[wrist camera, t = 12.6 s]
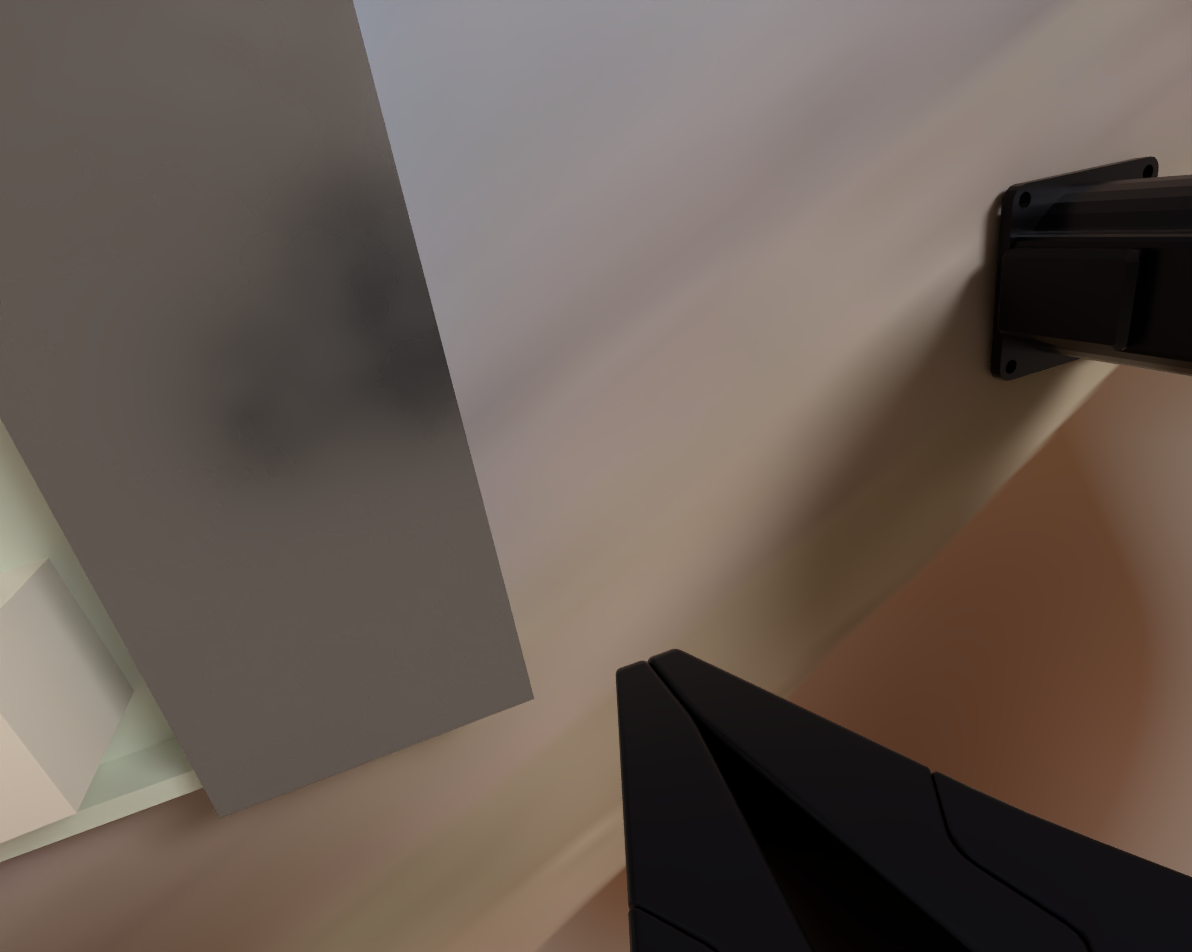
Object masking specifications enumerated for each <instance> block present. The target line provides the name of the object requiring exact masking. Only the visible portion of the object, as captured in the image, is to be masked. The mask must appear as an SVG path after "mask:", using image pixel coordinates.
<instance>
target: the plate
mask: <svg viewBox="0 0 1192 952" xmlns="http://www.w3.org/2000/svg"><path fill="white" fill-rule="evenodd" d="M0 419H1V420H2V422H3V424H4V426H5V428H6V430H7V431H8V433H9V435H10V437H11V439H12V440H13V442H14V444H15V446H16V448H17V450H18V451H19V453H20V455H21V457H22V459H23V460H24V462H25V464H26V466H27V468H28V470H29V471H30V473H31V475H32V477H33V479H34V480H35V482H36V484H37V486H38V488H39V490H40V491H41V493H42V495H43V497H44V499H45V501H46V502H47V504H48V506H49V508H50V510H51V511H52V513H53V515H54V517H55V519H56V521H57V522H58V524H59V526H60V528H61V530H62V531H63V533H64V535H65V537H66V539H67V541H68V542H69V544H70V546H71V548H72V550H73V551H74V553H75V555H76V557H77V559H78V561H79V562H80V564H81V566H82V568H83V570H84V572H85V573H86V575H87V577H88V579H89V581H90V582H91V584H92V586H93V588H94V590H95V592H96V593H97V595H98V597H99V599H100V601H101V602H102V604H103V606H104V608H105V610H106V612H107V613H108V615H109V617H110V619H111V621H112V622H113V624H114V626H115V628H116V630H117V632H118V633H119V635H120V637H121V639H122V641H123V643H124V644H125V646H126V648H127V650H128V652H129V653H130V655H131V657H132V659H133V661H134V663H135V664H136V666H137V668H138V670H139V672H140V673H141V675H142V677H143V679H144V681H145V683H146V684H147V686H148V688H149V690H150V692H151V693H152V695H153V697H154V699H155V701H156V703H157V704H158V706H159V708H160V710H161V712H162V714H163V715H164V717H165V719H166V721H167V723H168V724H169V726H170V728H171V730H172V732H173V734H174V735H175V737H176V739H177V741H178V743H179V744H180V746H181V748H182V750H183V752H184V754H185V755H186V757H187V759H188V761H189V763H190V764H191V766H192V768H193V770H194V772H195V774H196V775H197V777H198V779H199V781H200V783H201V785H202V786H203V788H204V790H205V792H206V794H207V795H208V797H209V799H210V801H211V803H212V805H213V806H214V808H215V810H216V812H217V814H218V815H219V817H220V818H221V817H224V816H227V815H229V814H232V813H234V812H237V811H240V810H242V809H245V808H248V807H250V806H253V805H256V804H258V803H261V802H263V801H266V800H269V799H271V798H274V797H277V796H279V795H282V794H285V793H287V792H290V791H292V790H295V789H298V788H300V787H303V786H306V785H308V784H311V783H313V782H316V781H319V780H321V779H324V778H327V777H329V776H332V775H335V774H337V773H340V772H342V771H345V770H348V769H350V768H353V767H356V766H358V765H361V764H364V763H366V762H369V761H371V760H374V759H377V758H379V757H382V756H385V755H387V754H390V753H393V752H395V751H398V750H400V749H403V748H406V747H408V746H411V745H414V744H416V743H419V742H421V741H424V740H427V739H429V738H432V737H435V736H437V735H440V734H443V733H445V732H448V731H450V730H453V729H456V728H458V727H461V726H464V725H466V724H469V723H472V722H474V721H477V720H479V719H482V718H485V717H487V716H490V715H493V714H495V713H498V712H500V711H503V710H506V709H508V708H511V707H514V706H516V705H519V704H522V703H524V702H527V701H529V700H532V699H534V696H533V692H532V689H531V685H530V681H529V677H528V673H527V669H526V666H525V662H524V658H523V654H522V650H521V646H520V642H519V639H518V635H517V631H516V627H515V623H514V619H513V616H512V612H511V608H510V604H509V600H508V596H507V592H506V589H505V585H504V581H503V577H502V573H501V569H500V566H499V562H498V558H497V554H496V550H495V546H494V542H493V539H492V535H491V531H490V527H489V523H488V519H487V516H486V512H485V508H484V504H483V500H482V496H481V492H480V489H479V485H478V481H477V477H476V473H475V469H474V465H473V462H472V458H471V454H470V450H469V446H468V442H467V439H466V435H465V431H464V427H463V423H462V419H461V415H460V412H459V408H458V404H457V400H456V396H455V392H454V389H453V385H452V381H451V377H450V373H449V369H448V365H447V362H446V358H445V354H444V350H443V346H442V342H441V339H440V335H439V331H438V327H437V323H436V319H435V315H434V312H433V308H432V304H431V300H430V296H429V292H428V289H427V285H426V281H425V277H424V273H423V269H422V265H421V262H420V258H419V254H418V250H417V246H416V242H415V239H414V235H413V231H412V227H411V223H410V219H409V215H408V212H407V208H406V204H405V200H404V196H403V192H402V189H401V185H400V181H399V177H398V173H397V169H396V165H395V162H394V158H393V154H392V150H391V146H390V142H389V138H388V135H387V131H386V127H385V123H384V119H383V115H382V112H381V108H380V104H379V100H378V96H377V92H376V88H375V85H374V81H373V77H372V73H371V69H370V65H369V62H368V58H367V54H366V50H365V46H364V42H363V38H362V35H361V31H360V27H359V23H358V19H357V15H356V12H355V8H354V4H353V0H0Z"/></svg>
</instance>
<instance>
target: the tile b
mask: <svg viewBox="0 0 1192 952" xmlns="http://www.w3.org/2000/svg"><path fill="white" fill-rule="evenodd" d="M133 692H134V690H133V688H132V687H131V685H130V684H129V682H128V680H127V679H126V677H125V676H124V674H123V673H122V671H121V670H120V668H119V666H118V665H117V663H116V662H115V660H114V659H113V657H112V656H111V654H110V652H109V651H108V649H107V648H106V646H105V645H104V643H103V642H102V640H101V638H100V637H99V635H98V634H97V632H96V631H95V629H94V628H93V626H92V624H91V623H90V621H89V620H88V618H87V617H86V615H85V614H84V612H83V610H82V609H81V607H80V606H79V604H78V603H77V601H76V600H75V598H74V596H73V595H72V593H71V592H70V590H69V589H68V587H67V586H66V584H65V582H64V581H63V579H62V578H61V576H60V575H59V573H58V572H57V570H56V569H55V567H54V565H53V564H52V562H51V561H50V559H49V558H46V559H43V560H39V561H36V562H33V563H30V564H27V565H23V566H20V567H17V568H14V569H11V570H7V571H4V572H1V573H0V843H3V842H5V841H8V840H10V839H13V838H15V837H18V836H20V835H23V834H25V833H28V832H30V831H33V830H35V829H38V828H40V827H43V826H45V825H48V824H50V823H53V822H55V821H58V820H60V819H63V818H65V817H68V816H71V815H73V814H76V813H77V811H78V809H79V807H80V805H81V803H82V800H83V798H84V796H85V794H86V792H87V790H88V788H89V786H90V783H91V781H92V779H93V777H94V775H95V773H96V771H97V769H98V767H99V764H100V762H101V760H102V758H103V756H104V754H105V752H106V750H107V747H108V745H109V743H110V741H111V739H112V737H113V735H114V733H115V730H116V728H117V726H118V724H119V722H120V720H121V718H122V716H123V714H124V711H125V709H126V707H127V705H128V703H129V701H130V699H131V697H132V694H133Z"/></svg>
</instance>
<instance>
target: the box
mask: <svg viewBox="0 0 1192 952" xmlns="http://www.w3.org/2000/svg"><path fill="white" fill-rule="evenodd" d="M46 558H49V559H50V561H51V562H52V564H53V565H54V567H55V569H56V570H57V572H58V573H59V575H60V576H61V578H62V579H63V581H64V582H65V584H66V586H67V587H68V589H69V590H70V592H71V593H72V595H73V596H74V598H75V600H76V601H77V603H78V604H79V606H80V607H81V609H82V610H83V612H84V614H85V615H86V617H87V618H88V620H89V621H90V623H91V624H92V626H93V628H94V629H95V631H96V632H97V634H98V635H99V637H100V638H101V640H102V642H103V643H104V645H105V646H106V648H107V649H108V651H109V652H110V654H111V656H112V657H113V659H114V660H115V662H116V663H117V665H118V666H119V668H120V670H121V671H122V673H123V674H124V676H125V677H126V679H127V680H128V682H129V684H130V685H131V687H132V688H133V690H134V692H133V694H132V697H131V699H130V701H129V703H128V705H127V707H126V709H125V711H124V714H123V716H122V718H121V720H120V722H119V724H118V726H117V728H116V730H115V733H114V735H113V737H112V739H111V741H110V743H109V745H108V747H107V750H106V752H105V754H104V756H103V758H102V760H101V762H100V764H99V767H98V769H97V771H96V773H95V775H94V777H93V779H92V781H91V783H90V786H89V788H88V790H87V792H86V794H85V796H84V798H83V800H82V803H81V805H80V807H79V809H78V811H77V813H76V814H73V815H71V816H68V817H65V818H63V819H60V820H58V821H55V822H53V823H50V824H48V825H45V826H43V827H40V828H38V829H35V830H33V831H30V832H28V833H25V834H23V835H20V836H18V837H15V838H13V839H10V840H8V841H5V842H3V843H0V862H2V861H5V860H8V859H10V858H13V857H16V856H18V855H21V854H24V853H27V852H29V851H32V850H35V849H38V848H40V847H43V846H46V845H48V844H51V843H54V842H57V841H59V840H62V839H65V838H68V837H70V836H73V835H76V834H78V833H81V832H84V831H87V830H89V829H92V828H95V827H98V826H100V825H103V824H106V823H108V822H111V821H114V820H117V819H119V818H122V817H125V816H128V815H130V814H133V813H136V812H138V811H141V810H144V809H147V808H149V807H152V806H155V805H158V804H160V803H163V802H166V801H168V800H171V799H174V798H177V797H179V796H182V795H185V794H188V793H190V792H193V791H196V790H198V789H201V788H203V786H202V785H201V783H200V781H199V779H198V777H197V775H196V774H195V772H194V770H193V768H192V766H191V764H190V763H189V761H188V759H187V757H186V755H185V754H184V752H183V750H182V748H181V746H180V744H179V743H178V741H177V739H176V737H175V735H174V734H173V732H172V730H171V728H170V726H169V724H168V723H167V721H166V719H165V717H164V715H163V714H162V712H161V710H160V708H159V706H158V704H157V703H156V701H155V699H154V697H153V695H152V693H151V692H150V690H149V688H148V686H147V684H146V683H145V681H144V679H143V677H142V675H141V673H140V672H139V670H138V668H137V666H136V664H135V663H134V661H133V659H132V657H131V655H130V653H129V652H128V650H127V648H126V646H125V644H124V643H123V641H122V639H121V637H120V635H119V633H118V632H117V630H116V628H115V626H114V624H113V622H112V621H111V619H110V617H109V615H108V613H107V612H106V610H105V608H104V606H103V604H102V602H101V601H100V599H99V597H98V595H97V593H96V592H95V590H94V588H93V586H92V584H91V582H90V581H89V579H88V577H87V575H86V573H85V572H84V570H83V568H82V566H81V564H80V562H79V561H78V559H77V557H76V555H75V553H74V551H73V550H72V548H71V546H70V544H69V542H68V541H67V539H66V537H65V535H64V533H63V531H62V530H61V528H60V526H59V524H58V522H57V521H56V519H55V517H54V515H53V513H52V511H51V510H50V508H49V506H48V504H47V502H46V501H45V499H44V497H43V495H42V493H41V491H40V490H39V488H38V486H37V484H36V482H35V480H34V479H33V477H32V475H31V473H30V471H29V470H28V468H27V466H26V464H25V462H24V460H23V459H22V457H21V455H20V453H19V451H18V450H17V448H16V446H15V444H14V442H13V440H12V439H11V437H10V435H9V433H8V431H7V430H6V428H5V426H4V424H3V422H2V420H1V419H0V573H1V572H4V571H7V570H11V569H14V568H17V567H20V566H23V565H27V564H30V563H33V562H36V561H39V560H43V559H46Z"/></svg>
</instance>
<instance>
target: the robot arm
mask: <svg viewBox="0 0 1192 952" xmlns="http://www.w3.org/2000/svg"><path fill="white" fill-rule="evenodd" d="M1157 176H1158V161H1157V159H1156V158H1155V157H1142V158H1135V159H1130V160H1126V161H1121V162H1116V163H1112V164H1107V165H1102V166H1098V167H1093V168H1088V169H1084V170H1079V171H1074V172H1070V173H1065V174H1060V175H1056V176H1051V177H1047V178H1042V179H1037V180H1033V181H1028V182H1023V183H1019V184H1015V185H1012V186H1010V187H1009V189H1008V190H1007V191H1006V192H1005V194H1004V196H1003V200H1002V209H1001V223H1000V237H999V252H998V266H997V280H996V295H995V309H994V323H993V337H992V352H991V366H990V370H991V374H992V376H993V377H994V378H996V379H1001V380H1006V381H1007V380H1013V379H1016V378H1019V377H1022V376H1025V375H1029V374H1032V373H1035V372H1038V371H1041V370H1045V369H1048V368H1051V367H1054V366H1057V365H1061V364H1064V363H1067V362H1070V361H1074V360H1077V359H1080V358H1082V359H1089V360H1095V361H1101V362H1107V363H1113V364H1119V365H1125V366H1132V367H1138V368H1144V369H1151V370H1156V371H1163V372H1169V373H1175V374H1181V375H1187V376H1192V175H1181V176H1168V177H1157ZM1019 199H1020V201H1019ZM616 689H617V707H618V726H619V744H620V762H621V781H622V799H623V818H624V836H625V854H626V873H627V890H628V906H629V913H628V917H629V936H630V952H1192V877H1190V876H1188V875H1185V874H1183V873H1180V872H1177V871H1175V870H1172V869H1170V868H1167V867H1164V866H1161V865H1159V864H1157V863H1154V862H1151V861H1149V860H1146V859H1143V858H1141V857H1138V856H1136V855H1133V854H1130V853H1128V852H1125V851H1123V850H1120V849H1117V848H1115V847H1112V846H1110V845H1107V844H1104V843H1101V842H1099V841H1097V840H1094V839H1092V838H1089V837H1087V836H1084V835H1082V834H1079V833H1077V832H1074V831H1072V830H1069V829H1067V828H1064V827H1062V826H1059V825H1057V824H1054V823H1052V822H1050V821H1047V820H1045V819H1041V818H1040V817H1037V816H1035V815H1032V814H1030V813H1027V812H1025V811H1023V810H1021V809H1018V808H1016V807H1014V806H1012V805H1009V804H1007V803H1005V802H1003V801H1001V800H998V799H996V798H994V797H992V796H989V795H987V794H985V793H983V792H981V791H978V790H976V789H974V788H972V787H970V786H967V785H965V784H963V783H961V782H959V781H956V780H955V779H953V778H951V777H948V776H946V775H944V774H942V773H940V772H937V771H935V772H933V773H932V774H931V771H930V769H929V768H928V767H927V766H925V765H922V764H920V763H918V762H916V761H914V760H912V759H910V758H908V757H906V756H903V755H901V754H899V753H897V752H895V751H893V750H891V749H889V748H886V747H884V746H882V745H880V744H878V743H876V742H874V741H872V740H870V739H867V738H865V737H863V736H861V735H859V734H857V733H855V732H853V731H851V730H848V729H846V728H844V727H842V726H840V725H838V724H836V723H834V722H832V721H830V720H827V719H825V718H823V717H821V716H819V715H816V714H814V713H813V712H810V711H808V710H806V709H804V708H802V707H800V706H798V705H796V704H793V703H792V702H789V701H787V700H785V699H783V698H781V697H779V696H777V695H775V694H773V693H770V692H768V691H766V690H764V689H762V688H760V687H758V686H756V685H754V684H751V683H749V682H747V681H745V680H743V679H741V678H739V677H737V676H734V675H732V674H730V673H728V672H726V671H724V670H722V669H720V668H718V667H715V666H713V665H711V664H709V663H707V662H705V661H703V660H701V659H699V658H696V657H694V656H692V655H690V654H688V653H686V652H684V651H682V650H679V649H672V650H669V651H666V652H663V653H661V654H658V655H655V656H652V657H650V658H649V660H648V662H646V661H638V662H636V663H633V664H630V665H627V666H625V667H622V668H619V669H618V670H617V672H616Z"/></svg>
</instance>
